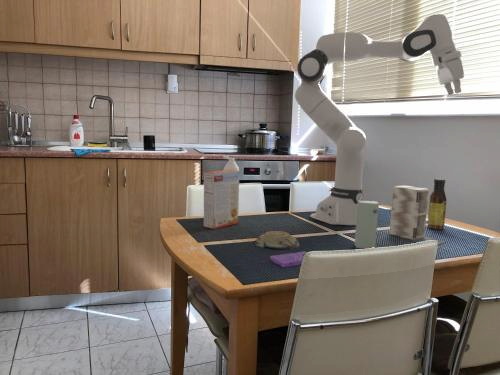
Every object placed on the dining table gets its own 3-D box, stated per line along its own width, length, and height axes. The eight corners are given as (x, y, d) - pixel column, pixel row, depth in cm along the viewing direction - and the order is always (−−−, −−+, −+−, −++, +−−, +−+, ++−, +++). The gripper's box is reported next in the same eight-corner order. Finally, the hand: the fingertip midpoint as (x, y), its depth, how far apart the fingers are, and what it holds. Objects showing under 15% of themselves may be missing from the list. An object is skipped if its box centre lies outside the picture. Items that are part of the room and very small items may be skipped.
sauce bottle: (445, 230, 169) (450, 180, 166) (428, 229, 170) (433, 179, 167) (441, 227, 175) (446, 178, 172) (425, 225, 176) (430, 177, 173)
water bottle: (240, 217, 178) (242, 157, 175) (227, 219, 175) (229, 158, 171) (229, 213, 185) (230, 156, 182) (216, 215, 181) (217, 156, 178)
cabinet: (385, 235, 158) (389, 186, 156) (399, 231, 165) (404, 185, 162) (432, 246, 145) (437, 194, 142) (446, 242, 151) (451, 191, 149)
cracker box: (227, 221, 171) (228, 169, 168) (238, 223, 167) (240, 170, 164) (202, 226, 160) (203, 171, 157) (213, 229, 157) (215, 173, 154)
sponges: (319, 263, 124) (319, 257, 124) (282, 269, 118) (283, 262, 118) (305, 256, 130) (305, 250, 130) (269, 261, 124) (269, 255, 124)
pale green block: (354, 244, 144) (357, 200, 142) (372, 245, 143) (376, 201, 141) (356, 248, 139) (360, 203, 137) (375, 249, 139) (379, 204, 136)
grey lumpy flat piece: (245, 242, 144) (273, 253, 132) (245, 231, 143) (274, 241, 131) (279, 237, 152) (309, 247, 140) (280, 226, 152) (309, 236, 140)
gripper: (429, 64, 171) (439, 97, 173) (443, 56, 151) (453, 94, 153) (446, 59, 170) (455, 92, 171) (462, 50, 150) (472, 88, 151)
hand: (454, 93), depth 162 cm, fingers open, 8 cm apart
